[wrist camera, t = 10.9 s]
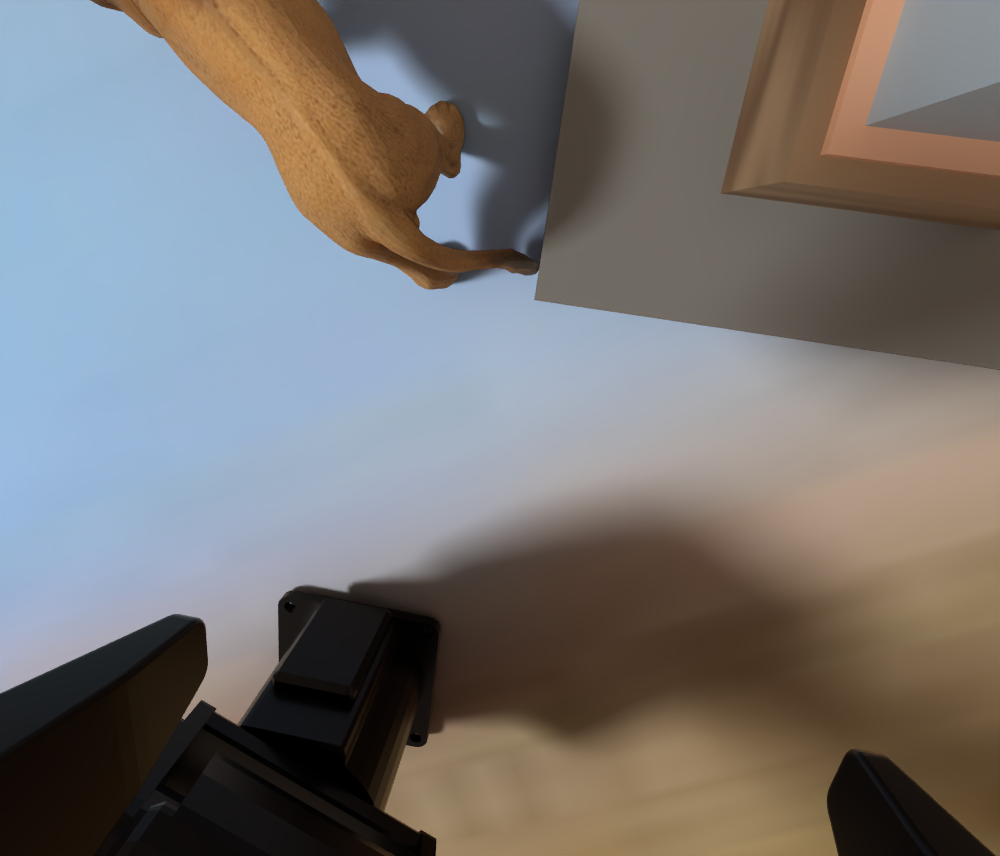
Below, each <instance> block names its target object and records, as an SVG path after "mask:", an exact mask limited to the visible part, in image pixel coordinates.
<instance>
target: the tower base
mask: <svg viewBox="0 0 1000 856" xmlns="http://www.w3.org/2000/svg"><path fill="white" fill-rule="evenodd" d="M904 3H905V0H579V6H578V13H577V19H576V26H575V33H574V39H573V46H572V53H571V59H570V66H569V73H568V79H567V86H566V93H565V100H564V106H563V113H562V120H561V126H560V133H559V140H558V146H557V153H556V160H555V166H554V173H553V180H552V186H551V193H550V200H549V206H548V213H547V220H546V227H545V233H544V240H543V247H542V253H541V260H540V267H539V273H538V280H537V287H536V293H535V300H538V301H545V302H552V303H558V304H565V305H572V306H578V307H585V308H592V309H598V310H605V311H612V312H618V313H625V314H632V315H638V316H645V317H652V318H658V319H665V320H671V321H678V322H685V323H691V324H698V325H705V326H711V327H718V328H725V329H731V330H738V331H745V332H751V333H758V334H765V335H771V336H778V337H785V338H791V339H798V340H805V341H811V342H818V343H825V344H831V345H838V346H845V347H851V348H858V349H864V350H871V351H878V352H884V353H891V354H898V355H904V356H911V357H918V358H924V359H931V360H938V361H944V362H951V363H958V364H964V365H971V366H978V367H984V368H991V369H998V370H1000V142H995V141H987V140H979V139H971V138H962V137H954V136H946V135H938V134H929V133H921V132H913V131H905V130H897V129H888V128H880V127H872V126H865V125H866V122H867V119H868V116H869V113H870V109H871V106H872V103H873V100H874V97H875V94H876V91H877V88H878V84H879V81H880V78H881V75H882V72H883V69H884V66H885V62H886V59H887V56H888V53H889V50H890V47H891V44H892V41H893V37H894V34H895V31H896V28H897V25H898V22H899V19H900V15H901V12H902V9H903V6H904Z"/></svg>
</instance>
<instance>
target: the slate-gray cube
mask: <svg viewBox="0 0 1000 856" xmlns="http://www.w3.org/2000/svg"><path fill="white" fill-rule="evenodd" d="M865 126H872V127H880V128H888V129H897V130H905V131H913V132H921V133H929V134H938V135H946V136H954V137H962V138H971V139H979V140H987V141H995V142H1000V0H905V3H904V6H903V9H902V12H901V15H900V19H899V22H898V25H897V28H896V31H895V34H894V37H893V41H892V44H891V47H890V50H889V53H888V56H887V59H886V62H885V66H884V69H883V72H882V75H881V78H880V81H879V84H878V88H877V91H876V94H875V97H874V100H873V103H872V106H871V109H870V113H869V116H868V119H867V122H866V125H865Z"/></svg>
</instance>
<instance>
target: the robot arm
mask: <svg viewBox="0 0 1000 856" xmlns="http://www.w3.org/2000/svg"><path fill="white" fill-rule="evenodd" d="M290 602H291V603H294V604H295V605H296V606H293V605H291V604H290ZM278 626H279V663H278V665H277V666H276V668H275V669H274V671H273V672H272V674H271V675H270V677H269V678H268V680H267V681H266V683H265V684H264V686H263V687H262V689H261V690H260V692H259V693H258V695H257V696H256V698H255V699H254V701H253V702H252V704H251V705H250V707H249V708H248V710H247V711H246V713H245V714H244V715H243V717H242V718H241V720H240V721H239V723H238V724H235V723H233V722H231V721H230V720H228V719H226V718H225V717H223V716H221V715H220V714H218V713H216V712H215V710H216V708H215V707H213V706H211V705H209V704H208V703H206V702H204V701H203V700H201V701H200V702H199V703H198V705H197V706H196V707H195V708H194V709H193V711H192V712H191V713H190V714H189V715H188V717H187V718H186V719H185V720H184V719H182V716H183V714H184V713H185V711H186V709H187V707H188V706H189V704H190V702H191V700H192V699H193V697H194V695H195V693H196V692H197V690H198V688H199V686H200V685H201V683H202V681H203V679H204V677H205V674H206V671H207V666H208V656H207V641H206V628H205V624H204V622H203V620H201V619H200V618H196V617H191V616H186V615H181V614H173V615H170V616H168V617H165V618H163V619H161V620H159V621H157V622H155V623H152V624H150V625H148V626H146V627H144V628H141V629H139V630H137V631H135V632H133V633H131V634H128V635H126V636H124V637H122V638H120V639H118V640H115V641H113V642H111V643H109V644H107V645H105V646H102V647H100V648H98V649H96V650H94V651H92V652H89V653H87V654H85V655H83V656H81V657H79V658H76V659H74V660H72V661H70V662H68V663H66V664H63V665H61V666H59V667H57V668H55V669H53V670H50V671H48V672H46V673H44V674H42V675H40V676H37V677H35V678H33V679H31V680H29V681H27V682H24V683H22V684H20V685H18V686H16V687H14V688H11V689H9V690H7V691H5V692H3V693H0V856H436V838H434V837H432V836H431V835H429V834H427V833H426V832H424V831H422V830H421V831H419V832H417V831H416V830H414V829H412V828H411V827H409V826H407V825H406V824H404V823H402V822H401V821H399V820H397V819H395V818H394V817H392V816H390V815H389V814H387V813H385V812H384V810H385V807H386V804H387V801H388V798H389V795H390V792H391V789H392V786H393V783H394V780H395V776H396V773H397V770H398V767H399V764H400V761H401V758H402V755H403V752H404V749H405V746H406V745H409V746H414V747H421V746H423V745H425V744H426V742H427V739H428V735H429V731H430V723H431V714H432V705H433V697H434V688H435V679H436V671H437V662H438V653H439V645H440V636H441V625H440V623H439V622H438V621H437V620H436V619H434V618H432V617H428V616H423V615H417V614H412V613H407V612H402V611H397V610H392V609H386V608H381V607H376V606H371V605H366V604H361V603H355V602H350V601H345V600H340V599H335V598H330V597H324V596H319V595H314V594H309V593H304V592H299V591H288V592H286V593H285V594H284V596H283V597H282V598H281V600H280V601H279V604H278ZM424 629H429V630H431V632H426V631H425V630H424ZM415 733H416V734H415ZM417 734H418V735H417ZM827 808H828V814H829V818H830V822H831V826H832V831H833V835H834V839H835V843H836V847H837V852H838V856H995V855H994V854H993V853H992V852H991V851H990V850H989V849H988V848H987V847H986V846H984V845H983V844H982V843H981V842H980V841H979V840H978V839H977V838H976V837H975V836H974V835H972V834H971V833H970V832H969V831H968V830H967V829H966V828H965V827H964V826H963V825H961V824H960V823H959V822H958V821H957V820H956V819H955V818H954V817H953V816H952V815H951V814H949V813H948V812H947V811H946V810H945V809H944V808H943V807H942V806H941V805H940V804H939V803H937V802H936V801H935V800H934V799H933V798H932V797H931V796H930V795H929V794H928V793H926V792H925V791H924V790H923V789H922V788H921V787H920V786H919V785H918V784H917V783H916V782H914V781H913V780H912V779H911V778H910V777H909V776H908V775H907V774H906V773H905V772H903V771H902V770H901V769H900V768H899V767H898V766H897V765H896V764H895V763H894V762H893V761H891V760H890V759H889V758H888V757H886V756H884V755H882V754H879V753H874V752H869V751H864V750H859V749H851V750H850V751H848V752H847V753H846V754H845V756H844V758H843V760H842V762H841V764H840V766H839V769H838V771H837V773H836V775H835V777H834V779H833V781H832V783H831V785H830V787H829V790H828V795H827Z"/></svg>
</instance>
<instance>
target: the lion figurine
mask: <svg viewBox="0 0 1000 856" xmlns="http://www.w3.org/2000/svg"><path fill="white" fill-rule="evenodd" d="M91 1H93V2H94V3H96V4H98V5H100V6H102V7H106V8H110V9H114V10H118V11H122V12H124V13H126V14H127V15H128V16H129V17H130V18H131V19H133V20H134V21H135V22H136V23H137V24H138V25H139V26H141V27H142V28H143V29H144V30H145V31H147V32H148V33H149V34H152V35H154V36H156V37H159V38H164V39H165V40H166V42H167V43H168V44H169V45H170V47H171V48H172V49H173V50H174V52H175V53H176V54H177V55H178V57H179V58H180V59H181V60H182V61H183V63H184V64H185V65H186V66H187V67H188V68H189V69H190V71H191V72H192V73H193V74H194V75H195V76H196V77H197V78H198V79H200V80H201V81H202V82H203V83H204V84H205V85H206V86H207V87H208V88H209V89H210V90H211V91H212V92H213V93H214V94H215V95H216V96H217V97H218V98H219V99H221V100H222V101H223V102H224V103H225V104H227V105H228V106H229V107H230V108H231V109H233V110H234V111H235V112H236V113H237V114H239V115H240V116H241V117H242V118H243V119H245V120H246V121H247V122H248V123H250V124H251V125H252V126H253V127H254V128H255V129H256V130H257V131H258V132H259V133H260V134H261V135H262V137H263V139H264V140H265V142H266V143H267V145H268V147H269V149H270V151H271V153H272V156H273V158H274V161H275V163H276V166H277V168H278V170H279V173H280V175H281V177H282V179H283V182H284V184H285V186H286V188H287V190H288V192H289V194H290V197H291V199H292V201H293V202H294V204H295V205H296V207H297V208H298V210H299V211H300V212H301V213H302V214H303V216H304V217H306V218H307V219H308V220H309V221H310V222H312V223H313V224H314V225H315V226H316V227H317V228H318V229H320V230H321V231H322V232H323V233H324V234H325V235H327V236H328V237H329V238H330V239H332V240H333V241H334V242H335V243H337V244H338V245H340V246H341V247H342V248H344V249H345V250H347V251H349V252H351V253H354V254H356V255H359V256H363V257H366V258H371V259H375V260H378V261H381V262H384V263H387V264H390V265H393V266H395V267H397V268H399V269H400V270H401V271H403V272H404V273H405V274H407V275H408V276H409V277H411V278H412V279H413V280H414V282H415V283H416V284H417V285H419V286H421V287H423V288H425V289H443V288H447V287H449V286H450V285H452V284H453V283H454V282H455V281H456V280H457V279H458V276H459V272H467V271H472V270H480V269H490V268H502V269H506V270H508V271H509V272H511V273H519V274H523V275H533V274H536V273H537V271H538V270H539V267H540V264H539V263H538V262H536V261H535V260H533V259H531V258H529V257H528V256H526V255H525V254H522V253H520V252H518V251H515V250H513V249H499V250H483V251H465V250H459V249H452V248H449V247H446V246H443V245H440V244H438V243H436V242H435V241H433V240H431V239H430V238H428V237H426V236H425V235H424V234H423V233H422V232H421V231H420V230H419V224H420V222H419V218H418V216H417V214H416V211H417V209H418V208H419V207H420V206H421V205H422V204H424V203H425V202H426V201H427V200H428V198H429V197H430V195H431V194H432V192H433V190H434V189H435V186H436V184H437V181H438V178H439V176H440V173H441V174H443V175H444V176H446V177H448V178H454V177H456V176H457V175H458V174H459V173H460V168H461V161H460V160H461V149H462V146H463V143H464V137H465V128H464V122H463V118H462V115H461V113H460V111H459V109H458V108H457V107H456V106H455V105H454V104H452V103H448V102H445V101H439V102H437V103H436V104H434V105H432V106H431V107H430V108H429V110H428V111H427V112H426V113H425V114H423V113H422V112H421V111H419V110H418V109H416V108H415V107H413V106H411V105H408V104H405V103H404V102H403V101H401V100H400V99H399V98H397V97H395V96H392V95H390V94H385V93H379V92H377V91H376V90H374V89H373V88H371V87H370V86H368V85H367V84H366V83H364V82H363V81H362V80H361V79H360V77H359V76H358V74H357V72H356V70H355V68H354V66H353V64H352V61H351V59H350V57H349V55H348V53H347V51H346V48H345V46H344V44H343V42H342V40H341V38H340V36H339V33H338V31H337V30H336V28H335V26H334V24H333V22H332V21H331V19H330V17H329V16H328V15H327V13H326V12H325V11H324V9H323V8H322V6H321V5H320V4H319V3H318V2H317V0H91Z"/></svg>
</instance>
